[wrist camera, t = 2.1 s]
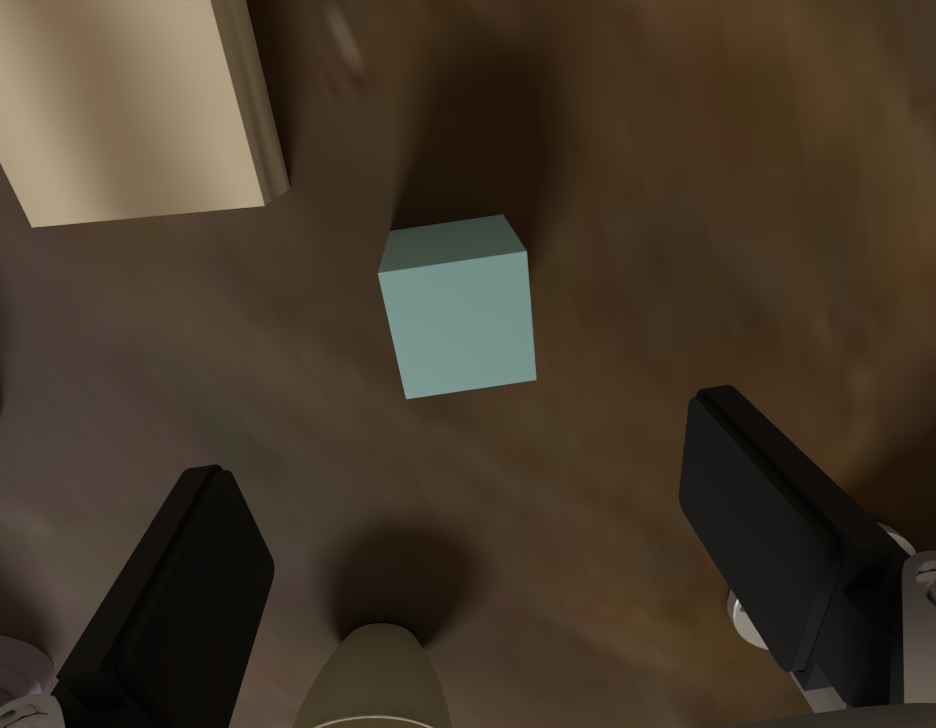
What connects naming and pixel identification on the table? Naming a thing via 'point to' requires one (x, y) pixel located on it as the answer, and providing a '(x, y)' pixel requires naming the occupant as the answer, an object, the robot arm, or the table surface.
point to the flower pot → (376, 684)
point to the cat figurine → (22, 669)
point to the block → (458, 306)
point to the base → (134, 109)
